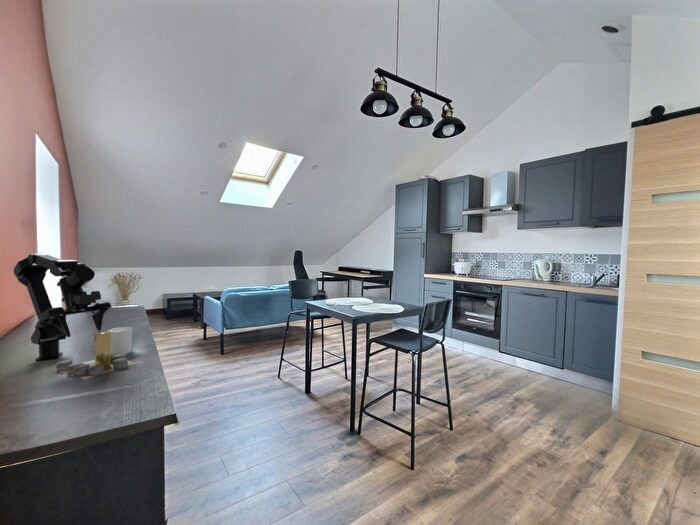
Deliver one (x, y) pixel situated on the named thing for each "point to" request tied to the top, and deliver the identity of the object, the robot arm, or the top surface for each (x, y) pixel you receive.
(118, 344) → the white cup
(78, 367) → the spacer board
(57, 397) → the top surface
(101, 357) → the brass post
